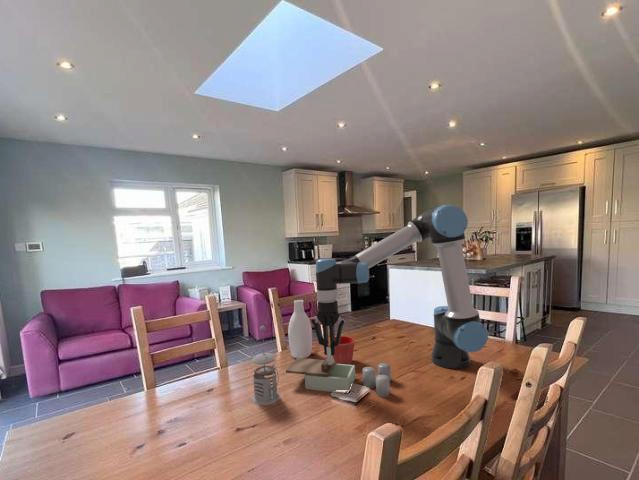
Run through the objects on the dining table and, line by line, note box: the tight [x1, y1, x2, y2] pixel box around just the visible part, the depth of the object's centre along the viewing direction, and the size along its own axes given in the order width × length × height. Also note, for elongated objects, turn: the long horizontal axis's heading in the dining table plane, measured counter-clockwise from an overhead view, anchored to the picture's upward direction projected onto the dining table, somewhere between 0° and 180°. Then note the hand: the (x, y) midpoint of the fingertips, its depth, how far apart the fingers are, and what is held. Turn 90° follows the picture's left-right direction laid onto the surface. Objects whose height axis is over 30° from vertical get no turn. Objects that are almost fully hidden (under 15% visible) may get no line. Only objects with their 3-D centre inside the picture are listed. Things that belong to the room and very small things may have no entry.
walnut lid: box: [285, 356, 336, 377], centre depth 119 cm, size 16×12×3 cm
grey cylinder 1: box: [361, 366, 376, 389], centre depth 115 cm, size 5×5×6 cm
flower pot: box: [333, 335, 356, 365], centre depth 136 cm, size 11×11×10 cm
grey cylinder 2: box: [377, 362, 392, 383], centre depth 118 cm, size 5×5×6 cm
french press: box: [251, 325, 281, 406], centre depth 108 cm, size 10×12×25 cm
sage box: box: [304, 364, 356, 393], centre depth 117 cm, size 16×12×5 cm
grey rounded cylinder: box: [375, 374, 391, 398], centre depth 108 cm, size 5×5×6 cm
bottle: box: [287, 299, 313, 359], centre depth 146 cm, size 11×11×25 cm
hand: (330, 363), depth 117 cm, fingers closed
